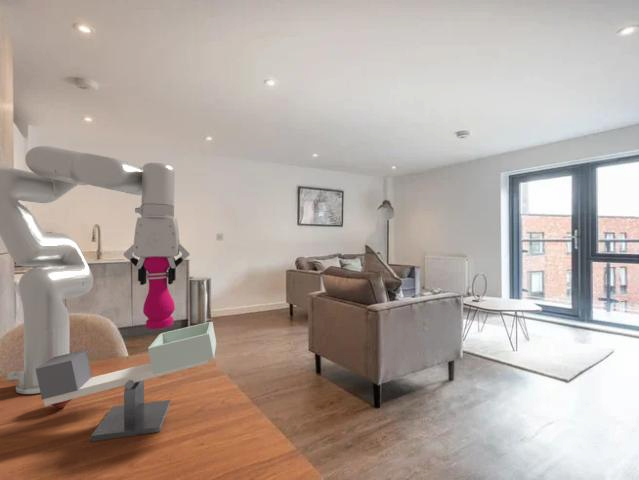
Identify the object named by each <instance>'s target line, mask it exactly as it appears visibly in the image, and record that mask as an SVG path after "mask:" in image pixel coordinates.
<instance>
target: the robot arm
mask: <svg viewBox="0 0 639 480" xmlns="http://www.w3.org/2000/svg"><path fill="white" fill-rule="evenodd" d="M24 160H25V164H26V166H27V168H29V170H30V171H27V170H23V169H19V168H13V167H7V166H0V239H1V240H2V242H3V244H4V246H5V248H6V250H7V252H8V254H9V256H10V258H11V260H12V261H13V262H14V263H15V264H16V265H18V266H21V267H26V268H27V267H32V268H31V269H29V270H27V271H25V272H24V274H22V275H21V277H20V278H19V281H18V292H19V296H20V300H21V304H22V311H23V369H22V370H19V371H18V370H17V371H15V370H14V371H8V372H7V375H6V382H14V381H16V382H18V383H17V384H16V386H15V392H16V393H18V394H22V395H37V394H41V393H40V388H39V384H38V379H37V374H36V368H38V367H39V366H41V365H43V364H44V363H46V362H47V361H49V360H50V359H52V358H54V357H57V356H61V355H65V354H70V353H71V352H70V346H71V345H70V342H71V341H70V334H71V332H70V331H71V329H70V328H71V327H70V326H71V325H70V314H69V310H68V309H67V307H66V305H65V304H64V303H63V300H65V299H73V298H78V297H80V296H84V295H86V294H88V293H89V292H90V291H91V289H92V288H93V286H94V276H93V273H92V270H91V268H90V266H89V264H88V262H87V260H86V259H85V257H84V254H83V253H82V251H81V249H80V247H79V244H77V242H76V241H75V240H74V239H73V238H72V237H71V236H69V235H68V234H65V233H61V232H47V231H44V230H43V229H42V227H41V225H40V224H39V222H38V220H37V218H36V216H35V215H34V213H32V211H31V210H29V209H28V208H27V207H25V206H24V205H23V204H21V202H19V201H22V202H27V203H29V202H30V203H37V204H48V203H49V204H50V203H52V202H55V201H57V200H58V199H60V198H61V197H63V196H64V195H66V194H67V193H69V192H70V191H71V190H73V189H74V188H76V187H77V186H78V185H79V186H92V187H98V188H102V189H105V190H111V191H117V192H121V193H125V194H130V195H136V196H141V205H140V206H139V207H135V208H134V212H135V213H136V214H138V215H140V217H137V219H136V222H135V227H134V228H135V229H134V237H133V244H132V245H130V247H129V248H128V249H127V250H126V251H125V252H124V253H123V256H124V257H125V258H126V259H127V260H129V261H130V263H132V265H134V266H135V267H136V269H137V281H138V282H139V283H140V285H139V286H143V285H145V284H147V276H148V275H146V274H147V273H148V271H147V270H146V269H145V268H144V261H145V258H146V257H167V259H168V261H169V264H170V267H169V268H168V269H167V272H168V278H167V285H172V284H173V283H174V281H176V276H177V275H176V268H177V267H178V266H179V265H180V264H181V263H182V262H184V261H185V260H186V259H187V258H188V257H189V256H190V252H189V251H188V250H187V249H186V248H185V247H184V246H183V245H182V244H181V243H180V233H179V224H178V219H177V218H175V169H174V168H173V167H172V165H169V164H167V163H163V162H161V163H160V162H148V163H145V164H144V165H143V166H140V165H137V164H134V163H129V162H127V161H124V160H121V159H119V158H118V159H117V158H113V157H109V156H106V155H105V156H104V155H99V154H93V153H88V152H81V151H75V150H70V149H65V148H60V147H54V146H48V145H38V146H34V147H32V148H30V149H29V150H28V151H27V152H26V154H25V159H24ZM180 253H181V256H179V255H180ZM177 256H179V257H178V258H177V259H176V258H175V257H177ZM138 258H139V259H138Z"/></svg>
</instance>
